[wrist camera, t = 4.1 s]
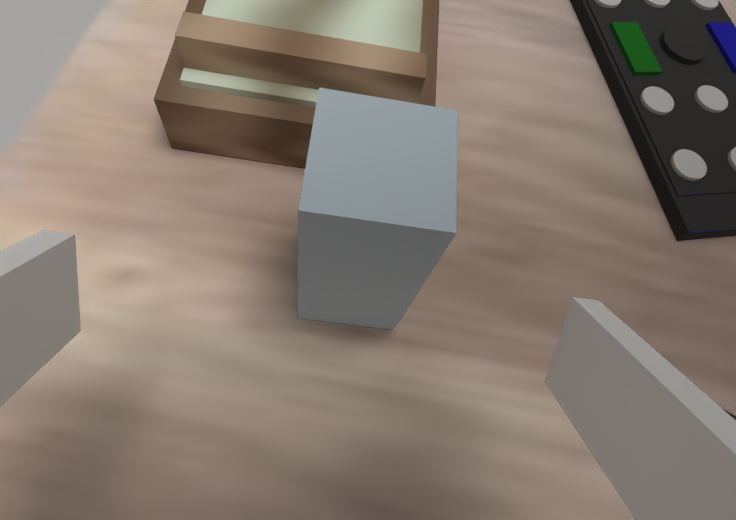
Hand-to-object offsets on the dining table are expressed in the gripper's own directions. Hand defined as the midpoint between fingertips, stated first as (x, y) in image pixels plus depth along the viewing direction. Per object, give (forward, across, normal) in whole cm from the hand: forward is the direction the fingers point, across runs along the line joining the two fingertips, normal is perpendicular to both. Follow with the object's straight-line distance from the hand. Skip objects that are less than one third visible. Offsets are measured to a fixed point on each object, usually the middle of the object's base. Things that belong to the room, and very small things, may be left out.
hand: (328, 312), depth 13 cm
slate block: (+10, +1, -3) cm, 11 cm away
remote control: (+25, +21, +11) cm, 35 cm away
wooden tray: (+19, -2, +6) cm, 20 cm away
